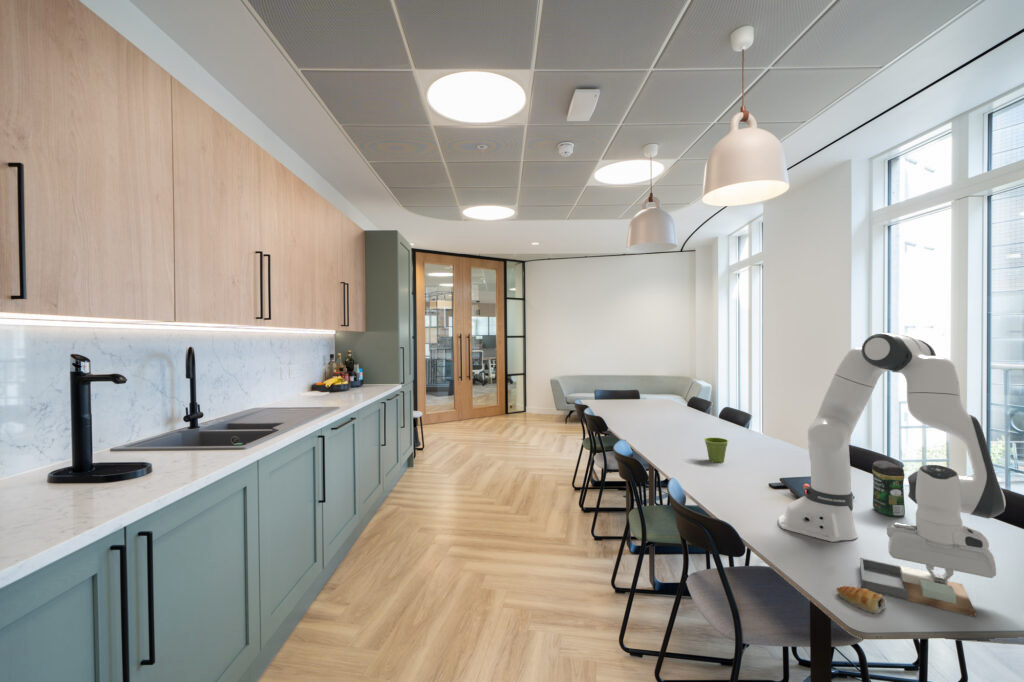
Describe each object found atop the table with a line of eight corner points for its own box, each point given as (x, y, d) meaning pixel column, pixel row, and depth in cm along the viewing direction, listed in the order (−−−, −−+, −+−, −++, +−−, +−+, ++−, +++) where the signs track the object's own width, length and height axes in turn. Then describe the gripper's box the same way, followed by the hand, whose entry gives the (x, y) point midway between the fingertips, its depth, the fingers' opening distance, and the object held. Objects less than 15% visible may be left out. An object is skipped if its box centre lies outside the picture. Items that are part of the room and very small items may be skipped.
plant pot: (701, 462, 237) (701, 440, 237) (708, 456, 246) (708, 436, 246) (725, 465, 229) (725, 443, 229) (731, 460, 238) (731, 439, 238)
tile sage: (922, 596, 112) (922, 588, 112) (919, 586, 116) (919, 579, 116) (956, 604, 109) (956, 595, 109) (952, 594, 113) (951, 586, 113)
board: (907, 600, 113) (907, 595, 113) (901, 575, 124) (901, 570, 124) (975, 616, 106) (975, 611, 106) (962, 588, 117) (962, 584, 117)
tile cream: (902, 581, 119) (902, 573, 119) (900, 572, 123) (900, 565, 123) (933, 588, 116) (933, 580, 116) (929, 579, 120) (929, 571, 120)
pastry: (832, 598, 115) (832, 583, 115) (843, 589, 119) (843, 575, 119) (877, 617, 107) (877, 601, 107) (888, 607, 111) (888, 592, 111)
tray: (862, 589, 118) (862, 579, 118) (860, 566, 129) (860, 557, 129) (907, 600, 113) (907, 590, 113) (901, 575, 124) (901, 566, 124)
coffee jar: (868, 507, 172) (867, 458, 172) (892, 508, 171) (891, 459, 170) (884, 517, 163) (883, 466, 162) (909, 518, 161) (908, 466, 161)
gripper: (887, 525, 120) (888, 576, 120) (998, 544, 108) (998, 601, 108) (885, 517, 125) (886, 566, 125) (990, 534, 113) (991, 589, 114)
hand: (939, 583), depth 117 cm, fingers closed
